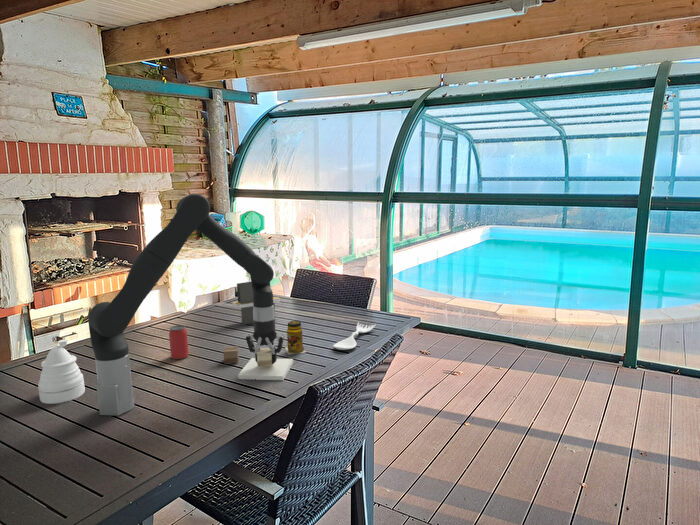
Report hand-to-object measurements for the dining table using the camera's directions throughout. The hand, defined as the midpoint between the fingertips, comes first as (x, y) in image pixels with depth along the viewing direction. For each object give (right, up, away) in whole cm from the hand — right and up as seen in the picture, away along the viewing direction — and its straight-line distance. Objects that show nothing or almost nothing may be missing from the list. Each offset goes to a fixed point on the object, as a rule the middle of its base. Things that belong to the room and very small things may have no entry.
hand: (266, 362), depth 178 cm
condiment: (+8, +1, +21) cm, 22 cm away
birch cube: (0, -1, 0) cm, 0 cm away
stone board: (0, -3, +1) cm, 3 cm away
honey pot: (-64, -7, -16) cm, 67 cm away
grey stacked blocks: (-15, +7, +61) cm, 63 cm away
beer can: (-37, -1, +15) cm, 40 cm away
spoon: (+32, +3, +31) cm, 45 cm away
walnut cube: (-15, -2, +10) cm, 18 cm away
